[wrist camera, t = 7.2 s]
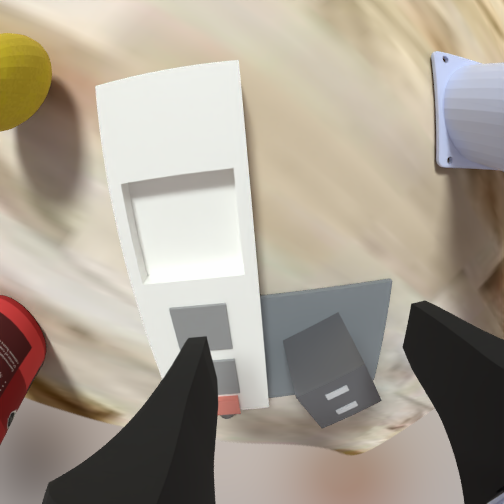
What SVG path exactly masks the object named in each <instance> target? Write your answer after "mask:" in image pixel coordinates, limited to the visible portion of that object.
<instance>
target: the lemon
mask: <svg viewBox="0 0 504 504" xmlns="http://www.w3.org/2000/svg"><path fill="white" fill-rule="evenodd" d="M51 78H52V69H51V62H50V59H49V56H48V54H47V53H46V51H45V50H44V48H43V47H42V46H41V45H40V44H39V43H38V42H36V41H34V40H33V39H31V38H29V37H27V36H25V35H20V34H12V33H3V34H0V131H5V130H9V129H12V128H14V127H16V126H18V125H20V124H21V123H23V122H25V121H26V120H28V119H29V118H30V117H31V116H32V115H33V114H34V113H35V112H36V111H37V110H38V109H39V107H40V106H41V105H42V103H43V102H44V100H45V98H46V96H47V94H48V91H49V88H50V85H51Z"/></svg>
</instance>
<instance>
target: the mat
mask: <svg viewBox="0 0 504 504" xmlns="http://www.w3.org/2000/svg"><path fill="white" fill-rule="evenodd" d="M391 287H392V280H391V279H384V280H377V281H370V282H364V283H357V284H350V285H342V286H335V287H327V288H320V289H312V290H304V291H296V292H288V293H279V294H270V295H261V296H260V304H261V316H262V328H263V340H264V351H265V363H266V375H267V387H268V398H273V397H281V396H288V395H295V391H294V386H293V382H292V377H291V373H290V369H289V364H288V360H287V356H286V352H285V347H284V343H283V340H285V339H287V338H289V337H291V336H293V335H295V334H297V333H299V332H301V331H303V330H305V329H307V328H309V327H311V326H313V325H315V324H317V323H318V322H320V321H322V320H324V319H326V318H328V317H330V316H332V315H334V314H336V313H337V312H339V314H340V316H341V318H342V320H343V322H344V324H345V326H346V328H347V330H348V332H349V334H350V336H351V337H352V339H353V341H354V343H355V345H356V347H357V349H358V351H359V353H360V355H361V357H362V359H363V361H364V363H365V365H366V368H367V370H368V372H369V374H370V376H371V378H372V380H374V377H375V373H376V369H377V364H378V360H379V355H380V350H381V346H382V341H383V335H384V330H385V325H386V319H387V313H388V307H389V301H390V294H391Z"/></svg>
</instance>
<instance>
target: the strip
mask: <svg viewBox="0 0 504 504" xmlns="http://www.w3.org/2000/svg"><path fill="white" fill-rule="evenodd" d="M95 88H96V100H97V110H98V119H99V128H100V136H101V143H102V150H103V157H104V163H105V169H106V175H107V181H108V187H109V192H110V197H111V203H112V207H113V212H114V217H115V222H116V226H117V231H118V235H119V239H120V244H121V248H122V252H123V256H124V260H125V264H126V268H127V271H128V275H129V279H130V282H131V286H132V289H133V293H134V296H135V300H136V303H137V307H138V310H139V313H140V316H141V319H142V323H143V326H144V329H145V332H146V335H147V338H148V341H149V344H150V347H151V350H152V352H153V355H154V358H155V361H156V364H157V366H158V369H159V372H160V374H161V377H162V379H163V378H164V376H165V375H166V373H167V372H168V370H169V369H170V367H171V365H172V364H173V362H174V360H175V359H176V357H177V355H178V354H179V352H180V350H181V349H182V347H183V345H184V343H185V342H186V340H187V339H188V338H192V337H203V336H207V340H208V344H209V348H210V352H211V356H212V360H213V364H214V368H215V372H216V376H217V382H218V415H220V416H221V417H222V418H224V419H229V418H231V417H232V416H233V415H234V414H241V411H240V410H247V409H257V408H266V407H269V399H268V387H267V375H266V363H265V351H264V340H263V328H262V316H261V304H260V293H259V281H258V270H257V258H256V247H255V235H254V224H253V213H252V201H251V190H250V179H249V168H248V157H247V146H246V135H245V124H244V113H243V102H242V91H241V80H240V70H239V60H233V61H223V62H213V63H205V64H198V65H191V66H184V67H178V68H172V69H166V70H161V71H156V72H151V73H146V74H141V75H137V76H132V77H128V78H124V79H120V80H116V81H112V82H108V83H105V84H101V85H98V86H95Z"/></svg>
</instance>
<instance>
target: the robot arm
mask: <svg viewBox="0 0 504 504" xmlns="http://www.w3.org/2000/svg"><path fill="white" fill-rule="evenodd" d="M443 57H444V59H445V62H444V61H443ZM431 59H432V68H433V78H434V90H435V107H436V162H437V164H438V165H439V166H440V167H444V168H470V169H489V170H500V171H503V172H504V63H489V64H482V63H479V62H475V61H472V60H469V59H466V58H462V57H459V56H455V55H451V54H447V53H444V52H440V51H436V52H433V53H432V55H431ZM448 157H449V162H447V159H448ZM403 349H404V351H405V354H406V356H407V359H408V361H409V363H410V366H411V368H412V370H413V372H414V373H415V375H416V377H417V378H418V380H419V382H420V383H421V385H422V387H423V388H424V390H425V392H426V393H427V395H428V397H429V399H430V400H431V402H432V404H433V405H434V407H435V409H436V411H437V412H438V414H439V416H440V418H441V420H442V423H443V425H444V428H445V430H446V433H447V435H448V438H449V440H450V443H451V446H452V449H453V452H454V455H455V459H456V462H457V467H458V470H459V475H460V479H461V484H462V490H463V496H464V503H465V504H504V340H503V339H500V338H498V337H496V336H494V335H492V334H489V333H487V332H485V331H483V330H481V329H479V328H477V327H475V326H473V325H471V324H470V323H468V322H466V321H464V320H462V319H460V318H458V317H456V316H455V315H453V314H451V313H449V312H447V311H445V310H443V309H442V308H440V307H438V306H436V305H434V304H431V303H429V302H427V301H422V302H417V303H413V304H411V309H410V314H409V320H408V325H407V330H406V335H405V339H404V344H403ZM217 415H218V382H217V376H216V372H215V368H214V364H213V360H212V356H211V352H210V348H209V344H208V340H207V336H203V337H192V338H188V339H187V340H186V342H185V343H184V345H183V347H182V349H181V350H180V352H179V354H178V355H177V357H176V359H175V360H174V362H173V364H172V365H171V367H170V369H169V370H168V372H167V373H166V375H165V376H164V378H163V379H162V381H161V382H160V384H159V385H158V387H157V388H156V389H155V391H154V392H153V393H152V395H151V396H150V397H149V399H148V400H147V401H146V403H145V404H144V405H143V406H142V408H141V409H140V410H139V411H138V413H137V414H136V415H135V416H134V417H133V418H132V419H131V420H130V421H129V423H128V424H127V425H126V426H125V427H124V428H123V429H122V430H121V431H120V432H119V433H118V434H117V435H116V436H115V437H113V438H112V439H111V440H110V441H109V442H108V443H107V444H106V445H105V446H103V447H102V448H101V449H100V450H98V451H97V452H96V453H95V454H93V455H92V456H91V457H89V458H88V459H87V460H85V461H84V462H82V463H81V464H80V465H78V466H77V467H75V468H74V469H72V470H70V471H68V472H67V473H65V474H63V475H62V476H60V477H58V478H57V479H55V480H53V481H51V482H49V484H48V486H47V489H46V492H45V495H44V499H43V502H42V504H215V491H214V490H215V489H214V452H215V439H216V427H217Z"/></svg>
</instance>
